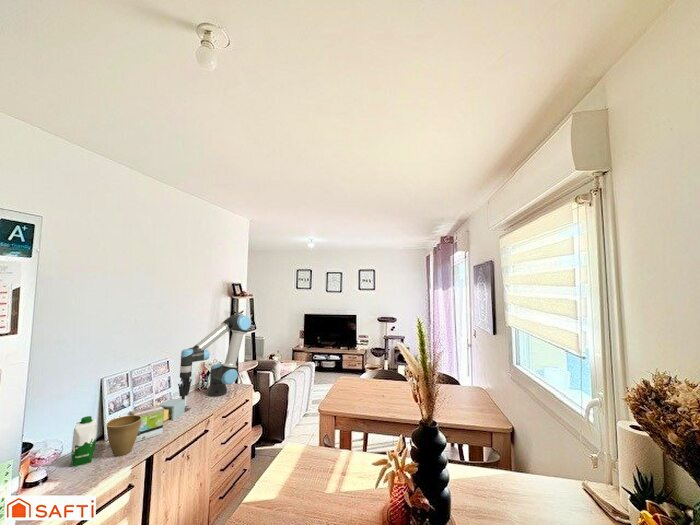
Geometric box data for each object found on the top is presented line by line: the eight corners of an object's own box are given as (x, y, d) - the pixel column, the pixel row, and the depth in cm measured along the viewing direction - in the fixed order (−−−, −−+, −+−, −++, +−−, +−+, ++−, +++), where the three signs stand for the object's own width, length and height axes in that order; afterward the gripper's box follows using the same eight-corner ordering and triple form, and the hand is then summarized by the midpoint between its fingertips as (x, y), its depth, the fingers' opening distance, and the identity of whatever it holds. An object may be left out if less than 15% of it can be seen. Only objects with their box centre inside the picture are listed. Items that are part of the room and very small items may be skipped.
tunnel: (180, 406, 224) (181, 393, 225) (194, 406, 224) (194, 393, 225) (147, 425, 192) (148, 410, 192) (163, 426, 191) (164, 411, 192)
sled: (178, 408, 218) (178, 399, 219) (185, 408, 218) (186, 399, 218) (153, 423, 194) (154, 412, 194) (162, 423, 193) (162, 413, 194)
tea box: (133, 443, 170) (135, 415, 171) (126, 438, 176) (128, 411, 177) (163, 433, 181) (164, 407, 183) (156, 429, 188) (157, 403, 189)
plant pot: (144, 444, 169) (146, 414, 170) (130, 459, 154) (132, 425, 156) (114, 446, 166) (117, 415, 168) (96, 461, 152) (99, 427, 153)
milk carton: (94, 455, 158) (98, 414, 159) (93, 463, 150) (96, 420, 152) (71, 460, 153) (75, 418, 154) (69, 469, 145) (73, 424, 147)
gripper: (186, 369, 229) (184, 402, 227) (175, 373, 216) (172, 408, 214) (196, 369, 229) (193, 402, 226) (185, 374, 216) (183, 409, 213)
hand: (183, 405), depth 220 cm, fingers closed
